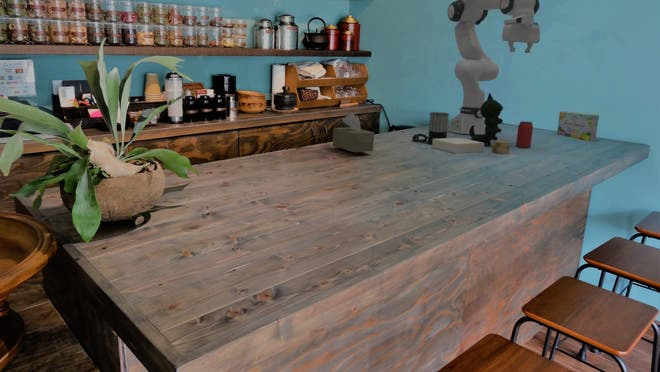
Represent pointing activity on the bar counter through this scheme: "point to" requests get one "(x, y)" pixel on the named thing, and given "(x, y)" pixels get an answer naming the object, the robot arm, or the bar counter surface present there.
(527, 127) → the beer can
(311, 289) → the bar counter surface
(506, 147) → the block
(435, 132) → the milk frother
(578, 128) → the snack box
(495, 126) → the toy figurine
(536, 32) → the robot arm
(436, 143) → the cream base
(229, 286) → the bar counter surface
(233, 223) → the bar counter surface
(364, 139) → the tissue box
